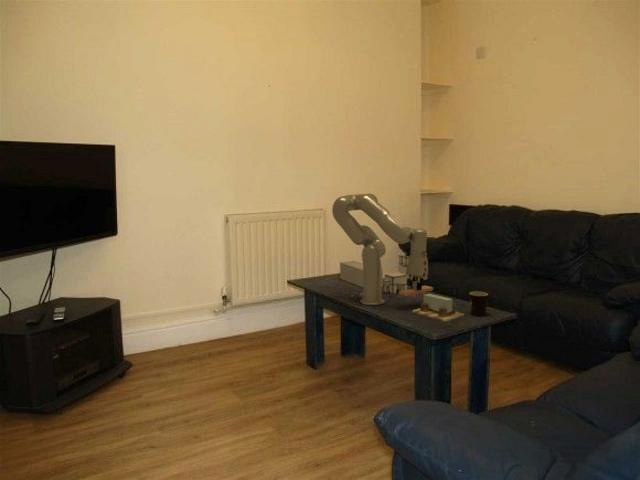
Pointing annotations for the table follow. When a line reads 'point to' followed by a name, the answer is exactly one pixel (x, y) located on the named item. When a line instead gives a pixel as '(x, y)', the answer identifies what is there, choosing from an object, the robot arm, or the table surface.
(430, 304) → the pale grey bar
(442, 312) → the jig
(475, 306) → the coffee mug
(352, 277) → the grey rectangular block
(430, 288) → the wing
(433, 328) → the table surface
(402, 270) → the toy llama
